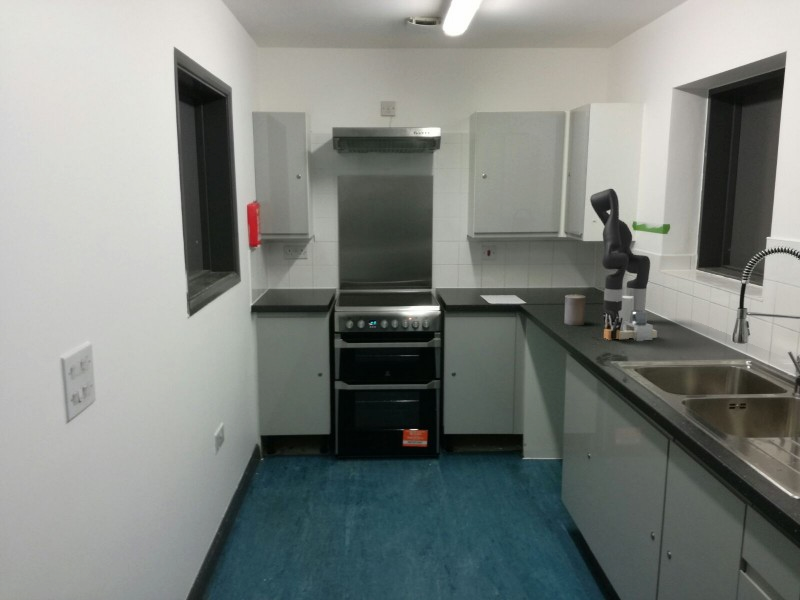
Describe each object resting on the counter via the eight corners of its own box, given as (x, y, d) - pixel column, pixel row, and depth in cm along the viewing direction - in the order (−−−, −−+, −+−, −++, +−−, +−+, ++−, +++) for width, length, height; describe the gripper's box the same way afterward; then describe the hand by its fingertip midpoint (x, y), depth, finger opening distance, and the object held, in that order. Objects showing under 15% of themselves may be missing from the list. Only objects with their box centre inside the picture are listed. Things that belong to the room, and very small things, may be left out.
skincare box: (632, 328, 281) (635, 296, 278) (630, 331, 275) (632, 298, 272) (614, 326, 285) (616, 294, 282) (611, 329, 279) (613, 296, 276)
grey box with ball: (622, 334, 268) (624, 309, 266) (636, 334, 269) (638, 308, 267) (636, 341, 257) (638, 314, 255) (651, 340, 258) (654, 314, 256)
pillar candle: (587, 323, 293) (588, 292, 291) (581, 326, 285) (582, 295, 283) (567, 321, 298) (568, 291, 296) (561, 324, 290) (562, 293, 288)
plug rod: (603, 337, 262) (604, 329, 262) (652, 335, 266) (652, 327, 265) (608, 340, 258) (608, 331, 258) (657, 337, 262) (657, 329, 261)
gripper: (597, 296, 264) (595, 334, 267) (613, 302, 250) (611, 341, 253) (612, 296, 265) (610, 333, 268) (629, 301, 251) (627, 341, 254)
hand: (610, 337), depth 261 cm, fingers closed on plug rod, 4 cm apart
